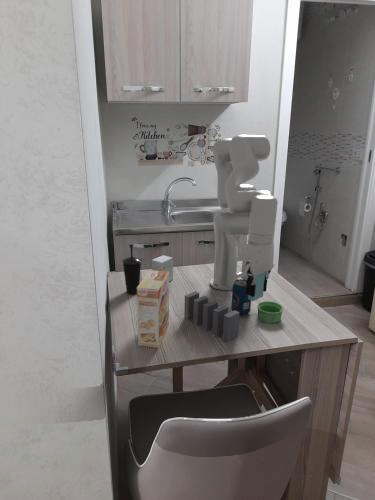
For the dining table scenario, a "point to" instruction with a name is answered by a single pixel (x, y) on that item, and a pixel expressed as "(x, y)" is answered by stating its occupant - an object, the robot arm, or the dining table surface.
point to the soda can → (240, 298)
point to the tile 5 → (219, 320)
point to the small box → (163, 265)
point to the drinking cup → (132, 273)
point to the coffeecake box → (153, 308)
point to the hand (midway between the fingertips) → (255, 291)
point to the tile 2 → (190, 305)
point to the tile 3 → (199, 310)
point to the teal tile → (258, 287)
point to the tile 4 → (209, 314)
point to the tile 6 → (230, 326)
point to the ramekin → (269, 311)
